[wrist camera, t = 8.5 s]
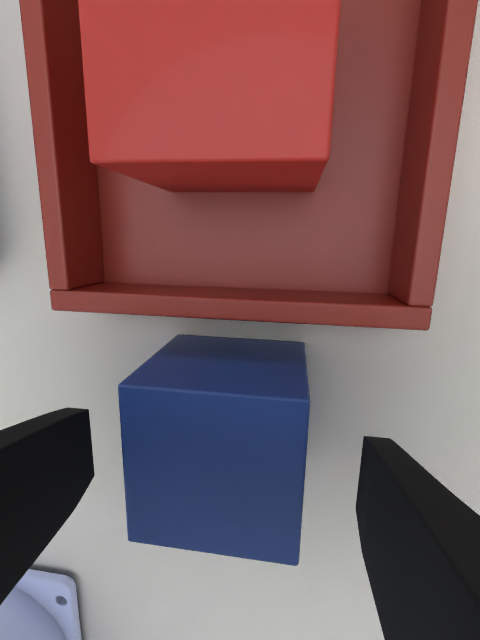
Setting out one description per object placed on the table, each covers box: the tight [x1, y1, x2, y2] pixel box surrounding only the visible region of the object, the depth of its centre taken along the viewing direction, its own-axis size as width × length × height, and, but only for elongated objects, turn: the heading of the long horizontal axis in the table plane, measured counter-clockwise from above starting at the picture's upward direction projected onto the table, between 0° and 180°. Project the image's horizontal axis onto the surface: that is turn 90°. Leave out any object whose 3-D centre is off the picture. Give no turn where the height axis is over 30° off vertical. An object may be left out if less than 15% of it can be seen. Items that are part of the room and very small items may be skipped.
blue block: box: [118, 335, 310, 566], centre depth 10 cm, size 4×4×4 cm
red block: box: [78, 0, 341, 192], centre depth 8 cm, size 4×4×4 cm
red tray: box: [19, 0, 478, 330], centre depth 9 cm, size 11×10×2 cm
